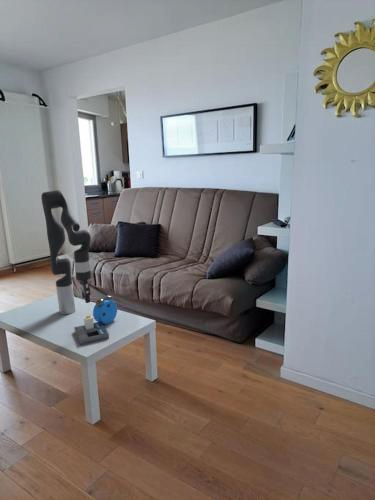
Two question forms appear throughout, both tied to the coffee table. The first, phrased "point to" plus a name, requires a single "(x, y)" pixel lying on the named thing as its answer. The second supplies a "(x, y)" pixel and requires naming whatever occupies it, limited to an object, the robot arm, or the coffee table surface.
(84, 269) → the robot arm
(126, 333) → the coffee table surface
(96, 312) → the alarm clock
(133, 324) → the coffee table surface
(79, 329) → the panel
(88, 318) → the plug
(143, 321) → the coffee table surface
